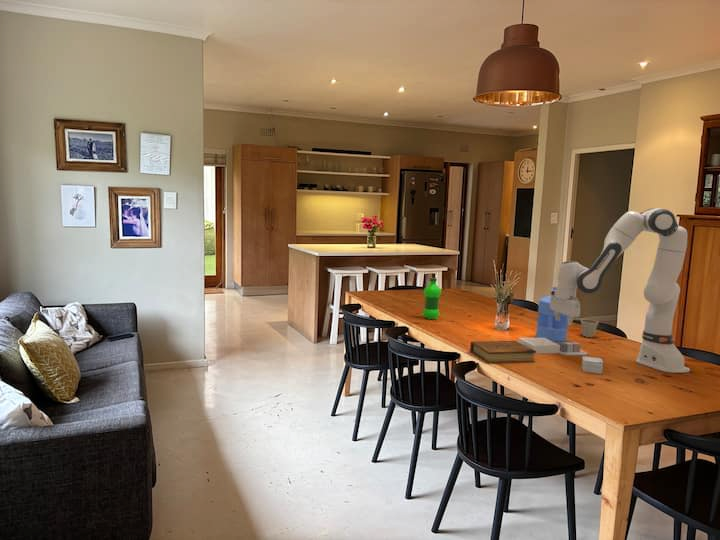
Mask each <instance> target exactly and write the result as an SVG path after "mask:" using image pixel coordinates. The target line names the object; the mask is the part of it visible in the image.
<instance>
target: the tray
mask: <svg viewBox="0 0 720 540" xmlns="http://www.w3.org/2000/svg"><path fill="white" fill-rule="evenodd" d="M558 354H559V355H562V356H565V357H566V356H567V357H568V356H571V357H572V356H589V355H590V354H589V353H588V352H586V351H584V350H583V349H580V352H561V351H559V353H558Z"/></svg>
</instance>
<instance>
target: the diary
mask: <svg viewBox="0 0 720 540" xmlns="http://www.w3.org/2000/svg"><path fill="white" fill-rule="evenodd" d="M469 348H470V349H469V351H470V352H471V354H473V355H475V356H476V357H478V358H479V359H481V360H483V361H484V362H485V363H487V364H506V363H507V364H510V363H511V364H513V363H516V364H517V363H536V360H534V354H533V353H536V351H535V350H533V349H531V348H529V347H527V346H525V345H523V344H521V343H519V342H518V341H516V340H491V341H490V340H487V341H485V340H482V341H478V340H477V341H475V340H473V341H470V347H469Z"/></svg>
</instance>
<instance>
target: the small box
mask: <svg viewBox="0 0 720 540" xmlns="http://www.w3.org/2000/svg"><path fill="white" fill-rule="evenodd" d="M581 360H582V361H581V369H582V372H583V373H589V374H599V375H600V374H601V375H603V369H604V361H603V359H602V357H601V358H600V357H593V356H592V357H591V356H586V355H582V358H581Z"/></svg>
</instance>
